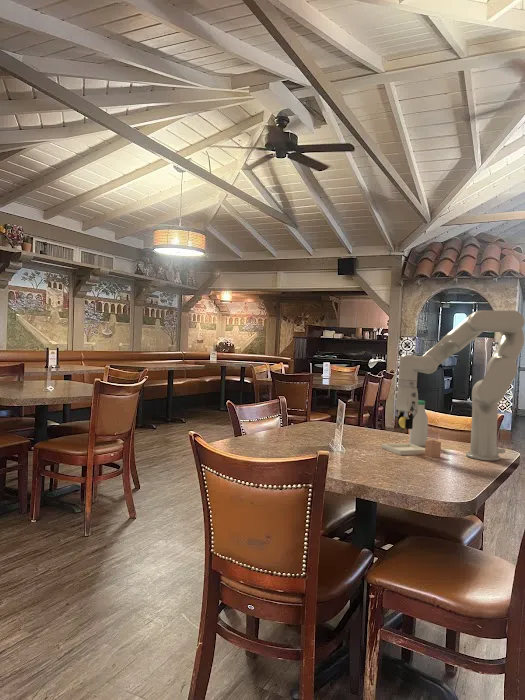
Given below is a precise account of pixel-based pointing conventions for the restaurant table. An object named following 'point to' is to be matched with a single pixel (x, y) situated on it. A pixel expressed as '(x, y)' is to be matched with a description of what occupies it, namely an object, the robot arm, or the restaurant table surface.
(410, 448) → the tray
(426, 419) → the milk bottle
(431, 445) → the brown rectangular block
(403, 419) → the ball
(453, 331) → the robot arm
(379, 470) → the restaurant table surface
